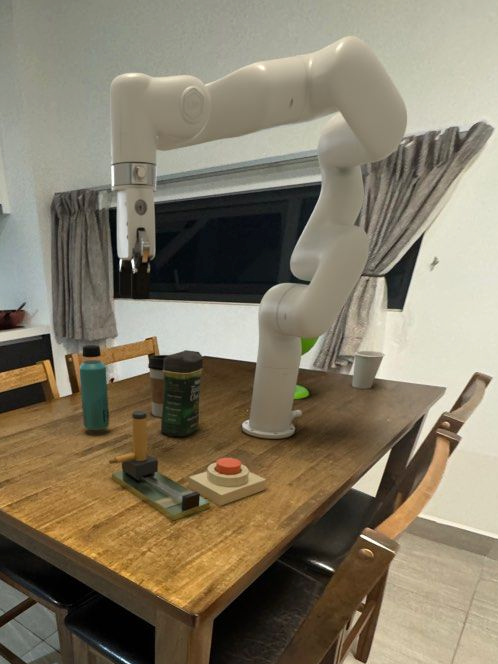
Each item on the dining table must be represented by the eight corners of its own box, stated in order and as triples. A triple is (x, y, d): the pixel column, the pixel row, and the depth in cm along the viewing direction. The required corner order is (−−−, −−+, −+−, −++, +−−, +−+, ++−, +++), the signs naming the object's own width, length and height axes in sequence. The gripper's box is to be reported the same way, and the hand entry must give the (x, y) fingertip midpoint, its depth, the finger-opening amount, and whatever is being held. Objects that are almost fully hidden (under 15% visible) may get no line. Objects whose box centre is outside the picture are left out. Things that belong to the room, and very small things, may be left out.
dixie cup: (374, 384, 146) (383, 351, 141) (376, 390, 140) (386, 356, 134) (347, 382, 149) (354, 350, 143) (347, 388, 142) (355, 355, 137)
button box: (230, 473, 90) (233, 454, 88) (264, 490, 83) (267, 470, 81) (188, 487, 85) (189, 467, 83) (220, 506, 78) (222, 485, 76)
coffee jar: (184, 440, 106) (188, 357, 96) (156, 434, 110) (157, 353, 99) (203, 428, 112) (209, 349, 102) (176, 423, 116) (179, 346, 106)
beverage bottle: (106, 436, 108) (102, 348, 98) (80, 435, 110) (73, 348, 99) (112, 427, 114) (109, 343, 103) (87, 426, 115) (81, 342, 104)
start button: (228, 464, 85) (229, 455, 84) (245, 472, 81) (246, 463, 81) (210, 469, 83) (211, 461, 82) (227, 478, 80) (228, 469, 79)
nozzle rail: (145, 469, 92) (145, 453, 90) (209, 508, 78) (211, 489, 76) (111, 479, 88) (111, 462, 86) (173, 521, 74) (173, 502, 72)
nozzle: (143, 466, 89) (143, 406, 83) (157, 475, 86) (158, 413, 79) (104, 477, 85) (100, 415, 79) (117, 487, 82) (115, 423, 75)
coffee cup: (143, 416, 121) (143, 358, 113) (153, 408, 128) (154, 352, 120) (172, 420, 118) (174, 360, 110) (182, 410, 125) (184, 353, 117)
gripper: (171, 174, 68) (166, 300, 77) (142, 187, 82) (141, 293, 92) (123, 172, 67) (124, 301, 76) (102, 186, 81) (105, 294, 90)
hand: (133, 297), depth 84 cm, fingers open, 9 cm apart
